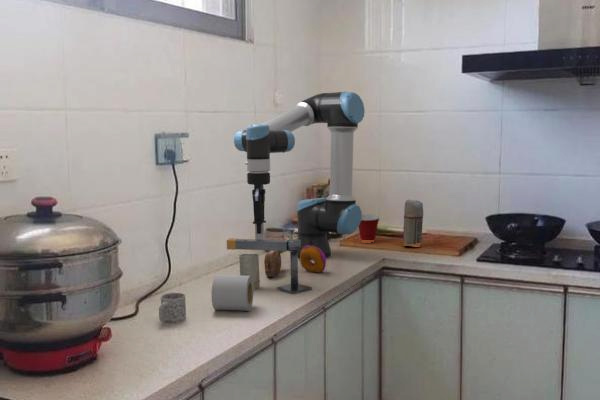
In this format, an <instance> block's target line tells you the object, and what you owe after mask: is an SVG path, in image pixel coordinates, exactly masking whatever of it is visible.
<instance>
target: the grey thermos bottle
mask: <svg viewBox="0 0 600 400" xmlns="http://www.w3.org/2000/svg"><path fill="white" fill-rule="evenodd" d="M423 206H424V204H423V202H422V201H420V200H415V199H414V200H413V199H406V200H405V202H404V210H403V212H404V213H403V232H402V233H403V235H402V236H403V237H402V243H403V242H404V243H407V244H416V243H421V242H422V241H423V221H424V207H423Z"/></svg>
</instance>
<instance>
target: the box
mask: <svg viewBox="0 0 600 400" xmlns="http://www.w3.org/2000/svg"><path fill="white" fill-rule="evenodd" d="M238 257H239V260H238V261H239V276H251V277H252V279H253V288H254V290H255V289H258V288H261V283H260V281H261V280H260V263H259V262H260V260H259V259H260V258H259V257H260V256H259V254H257V253H249V252H247V253H242V254H239V255H238Z"/></svg>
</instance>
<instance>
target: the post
mask: <svg viewBox="0 0 600 400" xmlns="http://www.w3.org/2000/svg"><path fill="white" fill-rule="evenodd" d="M289 255H290V257H289V261H290V262H289V264H290V269H289V270H290V283H289V284H284V285H280V286H277V287H276V290H278V291H281V292H285V293H288V294H292V295H295V294H296V295H297V294H299V293H304V292H307V291H308V292H309V291H311V290H312V289H313V287H312V286H308V285H305V284H302V283H300V282H299V260H298V259H299V258H298V251H294V252H293V251H289Z"/></svg>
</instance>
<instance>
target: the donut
mask: <svg viewBox="0 0 600 400" xmlns="http://www.w3.org/2000/svg"><path fill="white" fill-rule="evenodd" d="M310 258H311V259H310ZM299 261H300V265H301V268H303V269H304V270H305V271H308V272H311V273H322V272H323V271H324V270H325V269H326V265H327V258H326V256H325V254H324V253H323V251H322V250H321V249H319V248H318V247H316V246H313V245H308V246H304V247H303V248H302V249H301V253H300V258H299ZM312 261H313V262H314V263H313V262H312Z"/></svg>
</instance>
